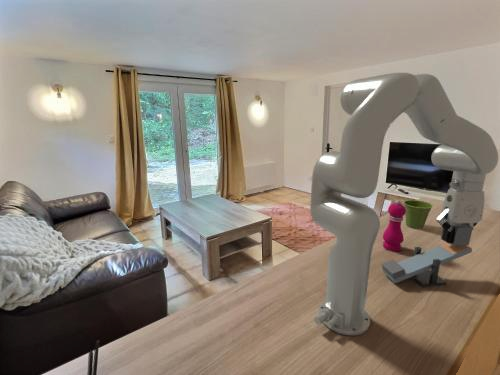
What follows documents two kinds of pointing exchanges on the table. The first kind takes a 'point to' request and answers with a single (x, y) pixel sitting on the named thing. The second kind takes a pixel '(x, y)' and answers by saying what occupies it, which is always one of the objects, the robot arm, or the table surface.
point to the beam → (423, 261)
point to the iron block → (461, 234)
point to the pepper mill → (394, 227)
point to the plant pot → (416, 213)
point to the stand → (429, 274)
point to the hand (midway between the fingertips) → (454, 240)
